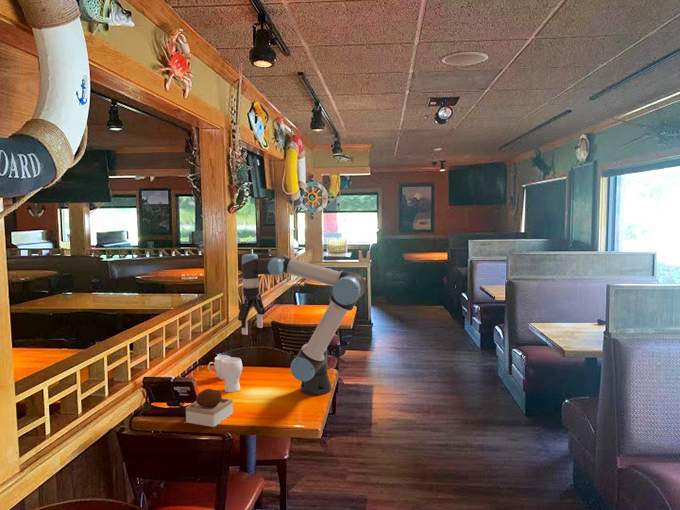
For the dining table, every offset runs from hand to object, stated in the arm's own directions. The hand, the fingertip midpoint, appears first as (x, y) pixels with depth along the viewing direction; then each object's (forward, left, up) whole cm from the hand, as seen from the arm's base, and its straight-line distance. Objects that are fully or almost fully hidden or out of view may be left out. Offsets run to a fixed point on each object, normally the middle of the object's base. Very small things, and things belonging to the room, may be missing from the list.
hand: (252, 330), depth 237 cm
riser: (+5, +29, -32) cm, 43 cm away
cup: (+15, -3, -32) cm, 35 cm away
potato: (+5, +29, -26) cm, 40 cm away
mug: (+30, -14, -32) cm, 46 cm away
